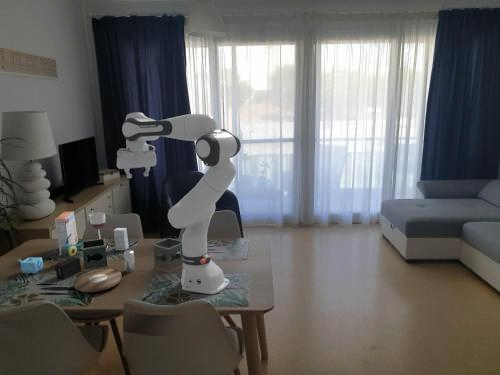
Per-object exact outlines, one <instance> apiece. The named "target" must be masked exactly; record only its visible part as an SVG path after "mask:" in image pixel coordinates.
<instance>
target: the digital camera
mask: <svg viewBox="0 0 500 375" xmlns="http://www.w3.org/2000/svg"><path fill="white" fill-rule="evenodd" d="M54 271H55V273H56V279H58V280H62V281H64V280H66V279H68V278H71V277H72V276H74V275H76V274H79V273H80V272H82V266H81V258H79V257H75V256H72V257H70V259H66V260H63V261H61V262H60V261H59V262H57V263H56V264H55V265H54Z"/></svg>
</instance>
